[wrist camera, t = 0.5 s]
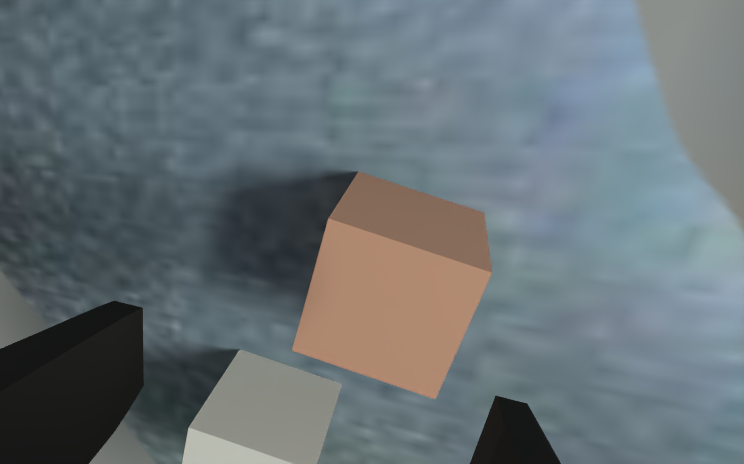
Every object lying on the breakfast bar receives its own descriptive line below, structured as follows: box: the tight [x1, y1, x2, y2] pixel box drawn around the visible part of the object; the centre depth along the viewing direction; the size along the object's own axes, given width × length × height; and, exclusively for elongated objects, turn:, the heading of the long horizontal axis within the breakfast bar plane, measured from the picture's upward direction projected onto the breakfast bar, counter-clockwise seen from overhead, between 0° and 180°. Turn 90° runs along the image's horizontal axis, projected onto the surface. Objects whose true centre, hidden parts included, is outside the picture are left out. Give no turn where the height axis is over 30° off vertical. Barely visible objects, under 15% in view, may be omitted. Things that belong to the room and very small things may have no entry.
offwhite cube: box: [182, 350, 342, 464], centre depth 22 cm, size 5×5×5 cm
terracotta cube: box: [292, 172, 492, 399], centre depth 18 cm, size 5×5×5 cm
